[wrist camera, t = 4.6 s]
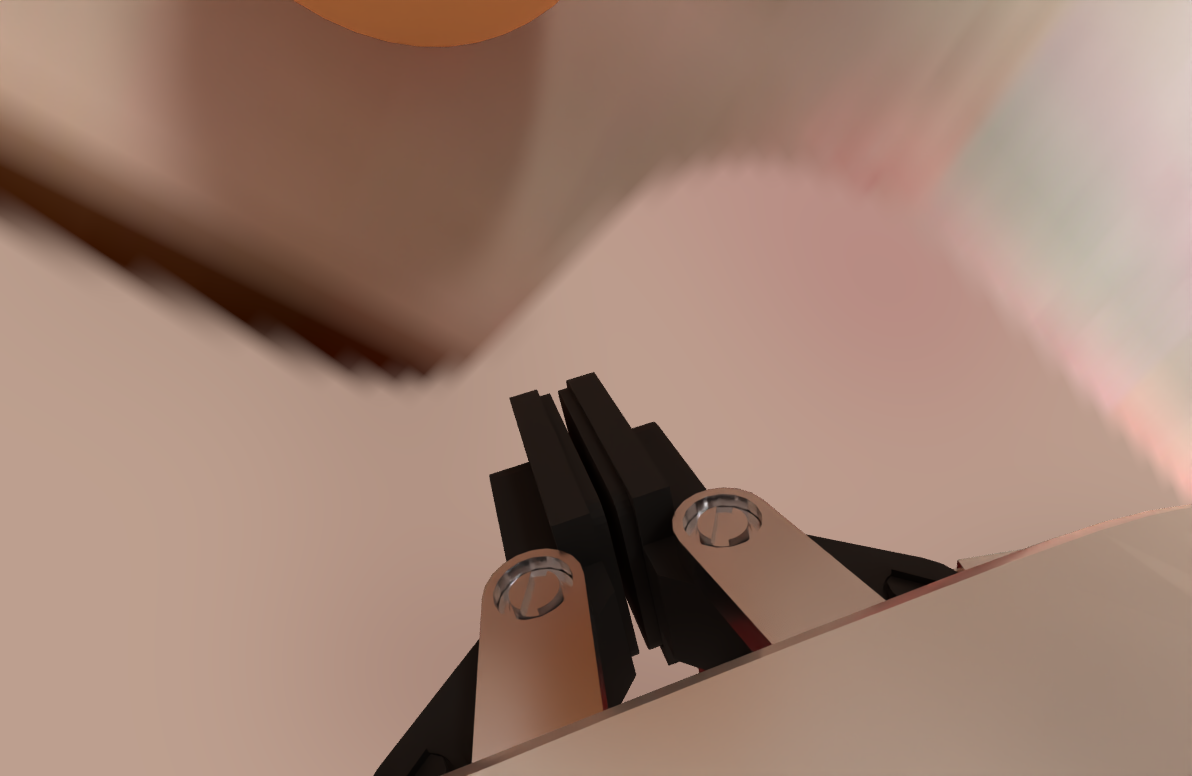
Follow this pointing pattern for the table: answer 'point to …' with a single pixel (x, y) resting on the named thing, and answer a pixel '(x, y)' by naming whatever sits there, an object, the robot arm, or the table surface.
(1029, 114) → the table surface
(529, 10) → the ball
